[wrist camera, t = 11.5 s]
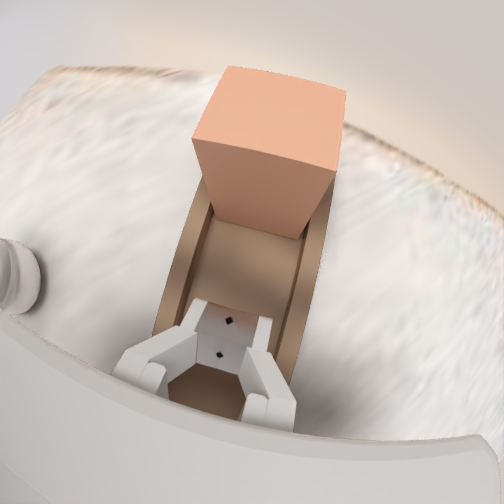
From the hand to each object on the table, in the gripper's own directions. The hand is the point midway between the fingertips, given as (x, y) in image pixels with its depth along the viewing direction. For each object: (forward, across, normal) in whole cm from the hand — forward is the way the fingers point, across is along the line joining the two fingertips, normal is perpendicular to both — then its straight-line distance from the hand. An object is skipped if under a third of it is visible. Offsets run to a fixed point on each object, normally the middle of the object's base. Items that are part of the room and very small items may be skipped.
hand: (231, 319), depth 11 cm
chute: (+8, 0, +6) cm, 10 cm away
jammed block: (+12, +1, 0) cm, 12 cm away
